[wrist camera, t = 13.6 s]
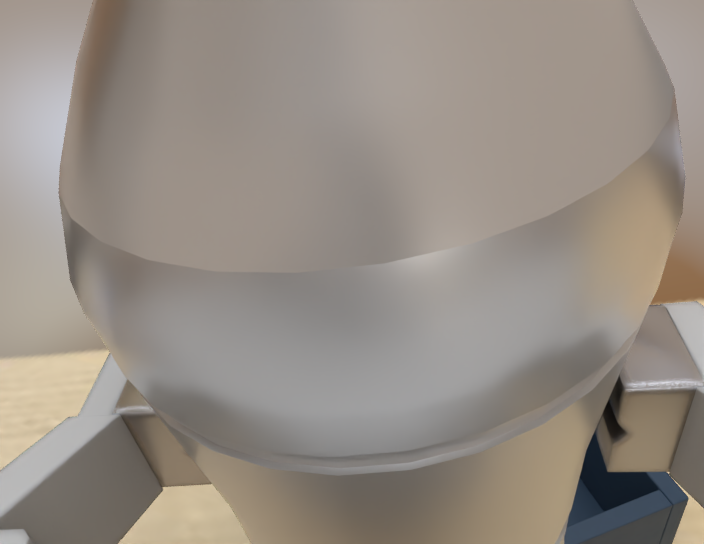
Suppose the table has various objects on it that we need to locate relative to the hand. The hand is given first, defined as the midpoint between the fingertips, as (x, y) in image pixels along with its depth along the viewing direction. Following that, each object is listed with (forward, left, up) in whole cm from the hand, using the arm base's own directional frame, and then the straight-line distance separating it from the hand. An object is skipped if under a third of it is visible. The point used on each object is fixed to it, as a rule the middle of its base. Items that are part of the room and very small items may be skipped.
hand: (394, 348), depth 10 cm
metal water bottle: (0, -1, -11) cm, 11 cm away
